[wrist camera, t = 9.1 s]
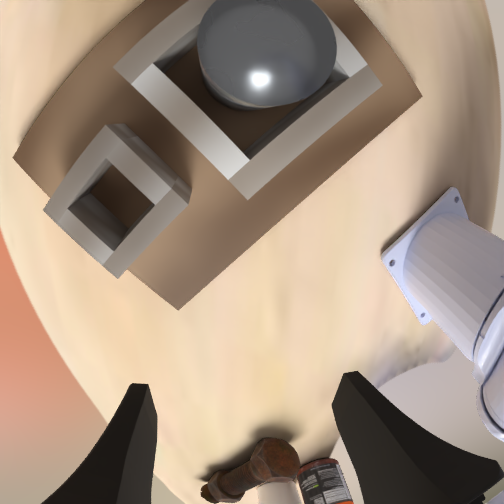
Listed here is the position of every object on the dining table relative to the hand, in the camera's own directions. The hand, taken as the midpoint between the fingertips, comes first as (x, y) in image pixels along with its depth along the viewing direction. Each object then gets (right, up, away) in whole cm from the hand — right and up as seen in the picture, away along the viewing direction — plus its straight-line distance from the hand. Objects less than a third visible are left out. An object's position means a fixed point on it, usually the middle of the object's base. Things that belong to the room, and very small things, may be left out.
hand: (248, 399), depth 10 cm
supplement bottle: (+9, -24, +23) cm, 34 cm away
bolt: (-2, -20, +20) cm, 28 cm away
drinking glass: (+4, -29, +25) cm, 39 cm away
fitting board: (-2, +13, +4) cm, 14 cm away
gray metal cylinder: (0, +14, +3) cm, 15 cm away
